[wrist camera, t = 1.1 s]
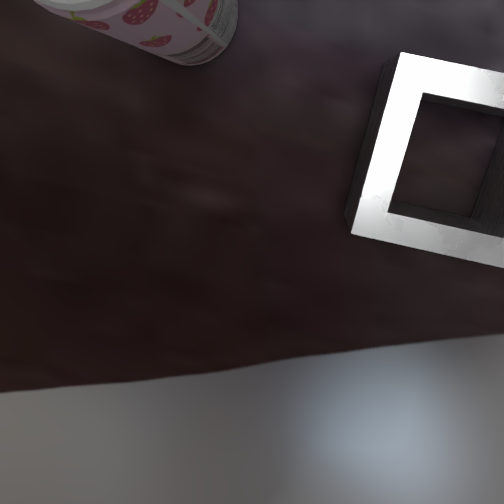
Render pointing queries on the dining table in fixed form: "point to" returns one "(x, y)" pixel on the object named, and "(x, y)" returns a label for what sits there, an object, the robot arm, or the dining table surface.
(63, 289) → the dining table surface
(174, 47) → the beverage can
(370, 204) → the white square sleeve
